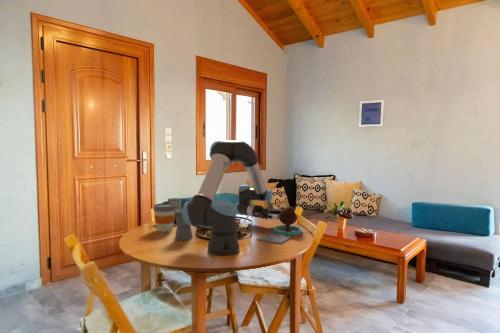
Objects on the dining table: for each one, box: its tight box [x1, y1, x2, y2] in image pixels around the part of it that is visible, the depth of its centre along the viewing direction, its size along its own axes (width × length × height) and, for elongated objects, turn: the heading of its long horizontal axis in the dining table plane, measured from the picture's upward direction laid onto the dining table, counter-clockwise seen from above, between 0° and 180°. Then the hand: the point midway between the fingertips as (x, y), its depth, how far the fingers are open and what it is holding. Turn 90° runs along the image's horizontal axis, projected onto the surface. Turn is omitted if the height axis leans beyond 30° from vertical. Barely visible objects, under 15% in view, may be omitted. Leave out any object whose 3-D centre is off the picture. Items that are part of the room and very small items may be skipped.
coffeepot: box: [174, 204, 193, 241], centre depth 180 cm, size 15×9×18 cm, turn 147°
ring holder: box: [273, 224, 303, 237], centre depth 194 cm, size 16×16×2 cm
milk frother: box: [162, 197, 182, 226], centre depth 214 cm, size 14×16×15 cm
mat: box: [256, 232, 293, 245], centre depth 180 cm, size 14×14×1 cm
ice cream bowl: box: [278, 206, 298, 232], centre depth 194 cm, size 11×11×15 cm
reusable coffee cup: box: [153, 202, 176, 233], centre depth 195 cm, size 13×13×15 cm
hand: (283, 215), depth 196 cm, fingers open, 13 cm apart
